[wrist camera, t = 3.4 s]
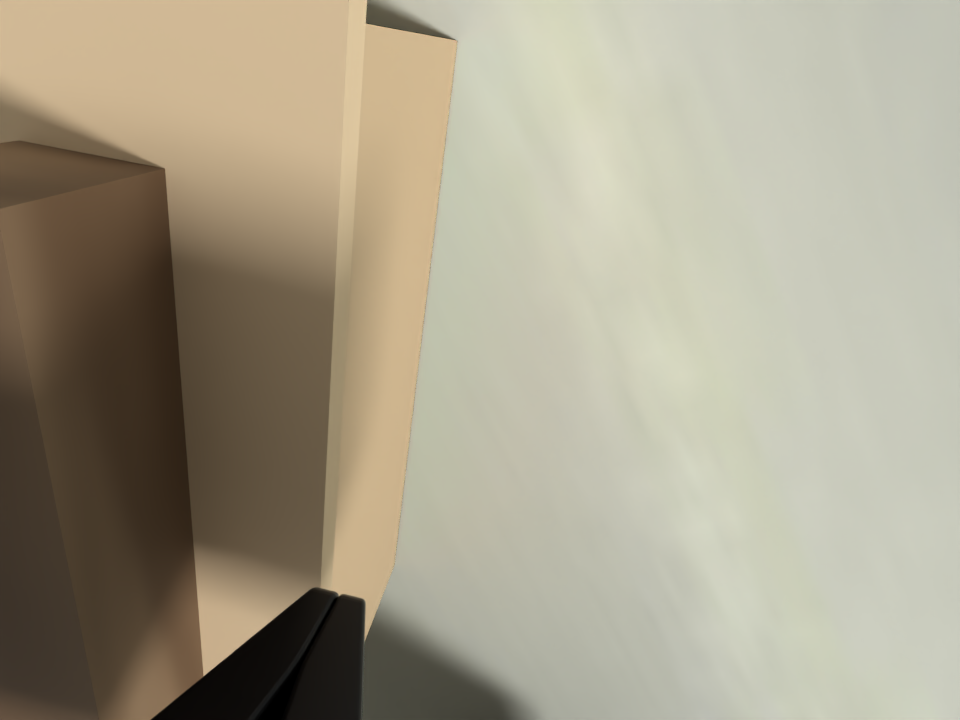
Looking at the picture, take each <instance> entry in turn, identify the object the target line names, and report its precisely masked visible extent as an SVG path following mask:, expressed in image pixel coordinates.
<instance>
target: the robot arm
mask: <svg viewBox="0 0 960 720" xmlns="http://www.w3.org/2000/svg"><path fill="white" fill-rule="evenodd" d="M365 612H366V602H365V600H364V599H363V598H359V597H355V596H351V595H347V594H341V595H340V596H339V594H338V593H337V592H335V591H331V590H327V589H323V588H319V587H314V588H311V589H310V590H308V591H307V592H306V593H305V594H304V595H302V596H301V597H300V598H299V599H297V600H296V601H295V602H294V603H293V604H291V605H290V606H289V607H288V608H286V609H285V610H284V611H283V612H282V613H280V614H279V615H278V616H277V617H275V618H274V619H273V620H272V621H271V622H269V623H268V624H267V625H266V626H264V627H263V628H262V629H261V630H260V631H258V632H257V633H256V634H255V635H253V636H252V637H251V638H250V639H249V640H247V641H246V642H245V643H244V644H242V645H241V646H240V647H239V648H238V649H236V650H235V651H234V652H233V653H231V654H230V655H229V656H228V657H227V658H225V659H224V660H223V661H222V662H220V663H219V664H218V665H217V666H216V667H214V668H213V669H212V670H211V671H209V672H208V673H207V674H206V675H205V676H203V677H202V678H201V679H200V680H198V681H197V682H196V683H195V684H194V685H192V686H191V687H190V688H189V689H187V690H186V691H185V692H184V693H182V694H181V695H180V696H179V697H178V698H176V699H175V700H174V701H173V702H171V703H170V704H169V705H168V706H167V707H165V708H164V709H163V710H162V711H160V712H159V713H158V714H157V715H156V716H154V717H153V718H152V719H151V720H362V712H363V679H364V646H365Z"/></svg>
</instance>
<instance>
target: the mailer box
mask: <svg viewBox="0 0 960 720" xmlns="http://www.w3.org/2000/svg"><path fill="white" fill-rule="evenodd" d="M456 49H457V41H456V40H451V39H446V38H440V37H435V36H429V35H424V34H419V33H413V32H408V31H402V30H397V29H392V28H386V27H381V26H376V25H370V24H366V28H365V44H364V61H363V77H362V94H361V111H360V127H359V144H358V160H357V177H356V194H355V210H354V227H353V244H352V260H351V277H350V293H349V310H348V327H347V343H346V360H345V376H344V393H343V410H342V426H341V443H340V459H339V476H338V493H337V509H336V526H335V543H334V559H333V576H332V591H335V592H337V593H338V594H339V596H340V595H341V594H347V595H351V596H355V597H359V598H363V599H364V600H365V602H366V612H365V640H366V637H367V634H368V632H369V629H370V627H371V624H372V622H373V619H374V616H375V614H376V611H377V609H378V606H379V603H380V601H381V598H382V596H383V593H384V591H385V588H386V585H387V583H388V580H389V578H390V575H391V573H392V570H393V567H394V564H395V555H396V547H397V539H398V530H399V522H400V514H401V506H402V497H403V489H404V481H405V472H406V464H407V456H408V447H409V439H410V431H411V423H412V414H413V406H414V398H415V389H416V381H417V373H418V365H419V356H420V348H421V340H422V331H423V323H424V315H425V306H426V298H427V290H428V282H429V273H430V265H431V257H432V248H433V240H434V232H435V223H436V215H437V207H438V199H439V190H440V182H441V174H442V165H443V157H444V149H445V140H446V132H447V124H448V116H449V107H450V99H451V91H452V82H453V74H454V66H455V58H456Z"/></svg>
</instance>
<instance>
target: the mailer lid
mask: <svg viewBox="0 0 960 720" xmlns="http://www.w3.org/2000/svg"><path fill="white" fill-rule="evenodd" d="M366 11H367V0H0V720H151V719H152V718H153V717H154V716H156V715H157V714H158V713H159V712H160V711H162V710H163V709H164V708H165V707H167V706H168V705H169V704H170V703H171V702H173V701H174V700H175V699H176V698H178V697H179V696H180V695H181V694H182V693H184V692H185V691H186V690H187V689H189V688H190V687H191V686H192V685H194V684H195V683H196V682H197V681H198V680H200V679H201V678H202V677H203V676H205V675H206V674H207V673H208V672H209V671H211V670H212V669H213V668H214V667H216V666H217V665H218V664H219V663H220V662H222V661H223V660H224V659H225V658H227V657H228V656H229V655H230V654H231V653H233V652H234V651H235V650H236V649H238V648H239V647H240V646H241V645H242V644H244V643H245V642H246V641H247V640H249V639H250V638H251V637H252V636H253V635H255V634H256V633H257V632H258V631H260V630H261V629H262V628H263V627H264V626H266V625H267V624H268V623H269V622H271V621H272V620H273V619H274V618H275V617H277V616H278V615H279V614H280V613H282V612H283V611H284V610H285V609H286V608H288V607H289V606H290V605H291V604H293V603H294V602H295V601H296V600H297V599H299V598H300V597H301V596H302V595H304V594H305V593H306V592H307V591H308V590H310V589H311V588H314V587H319V588H323V589H327V590H331V591H332V576H333V559H334V543H335V526H336V509H337V493H338V476H339V459H340V443H341V426H342V410H343V393H344V376H345V360H346V343H347V327H348V310H349V293H350V277H351V260H352V244H353V227H354V210H355V194H356V177H357V160H358V144H359V127H360V111H361V94H362V77H363V61H364V44H365V28H366Z"/></svg>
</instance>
